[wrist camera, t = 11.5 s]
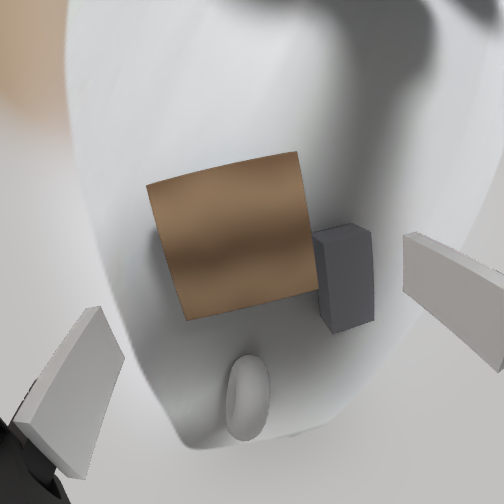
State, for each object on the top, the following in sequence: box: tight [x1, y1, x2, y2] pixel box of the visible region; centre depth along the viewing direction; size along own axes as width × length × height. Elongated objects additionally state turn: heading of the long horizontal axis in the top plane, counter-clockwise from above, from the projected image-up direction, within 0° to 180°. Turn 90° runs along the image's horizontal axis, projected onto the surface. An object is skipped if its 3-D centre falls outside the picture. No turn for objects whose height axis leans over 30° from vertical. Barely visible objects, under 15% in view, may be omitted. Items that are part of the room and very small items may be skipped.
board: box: [146, 151, 319, 321], centre depth 23 cm, size 11×11×2 cm
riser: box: [311, 224, 374, 334], centre depth 30 cm, size 10×5×4 cm, turn 12°
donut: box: [226, 355, 270, 441], centre depth 29 cm, size 10×3×10 cm, turn 168°
